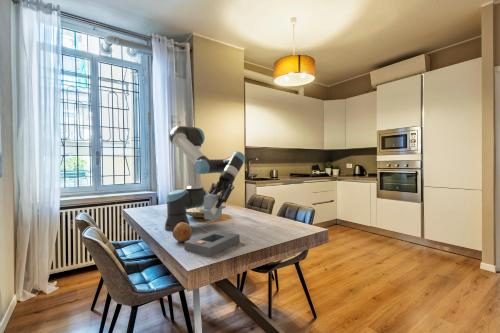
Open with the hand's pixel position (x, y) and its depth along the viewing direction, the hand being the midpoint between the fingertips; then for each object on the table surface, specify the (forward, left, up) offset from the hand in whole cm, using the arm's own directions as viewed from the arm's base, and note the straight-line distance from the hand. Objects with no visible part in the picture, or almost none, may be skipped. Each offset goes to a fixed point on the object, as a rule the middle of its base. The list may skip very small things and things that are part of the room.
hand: (207, 212), depth 117 cm
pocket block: (-3, +2, -17) cm, 18 cm away
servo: (-3, +2, -3) cm, 5 cm away
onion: (-13, -14, -17) cm, 26 cm away
